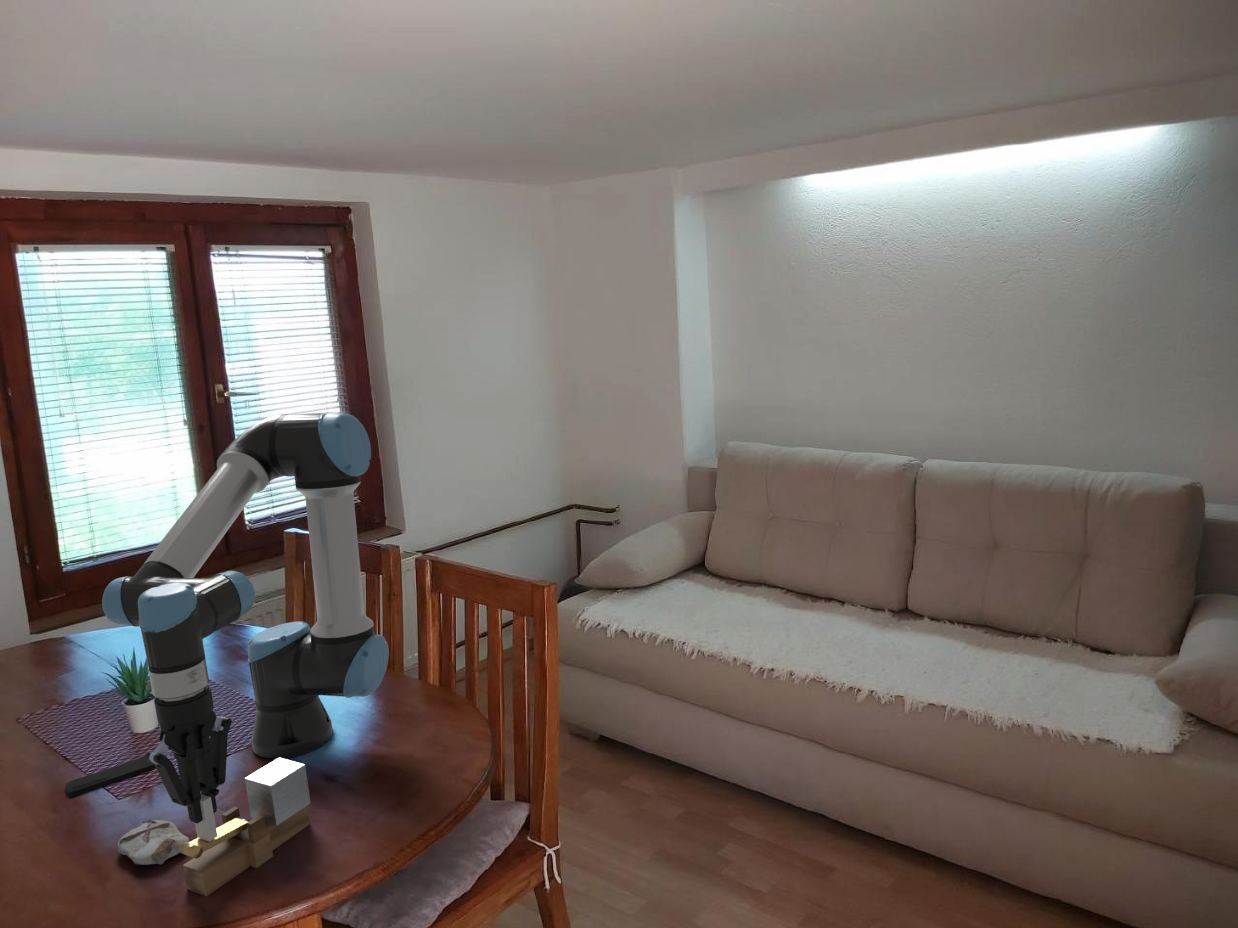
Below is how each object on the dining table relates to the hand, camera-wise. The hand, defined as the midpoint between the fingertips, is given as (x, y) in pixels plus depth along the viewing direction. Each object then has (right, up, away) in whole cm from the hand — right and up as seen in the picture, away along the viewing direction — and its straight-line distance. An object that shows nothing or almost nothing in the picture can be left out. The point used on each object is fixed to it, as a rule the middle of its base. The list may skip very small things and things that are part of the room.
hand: (207, 836), depth 138 cm
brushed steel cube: (+7, -1, +12) cm, 14 cm away
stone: (-13, -7, +11) cm, 19 cm away
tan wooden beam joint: (+4, -6, +8) cm, 10 cm away
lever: (+3, 0, +6) cm, 7 cm away
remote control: (-33, -4, +35) cm, 48 cm away
